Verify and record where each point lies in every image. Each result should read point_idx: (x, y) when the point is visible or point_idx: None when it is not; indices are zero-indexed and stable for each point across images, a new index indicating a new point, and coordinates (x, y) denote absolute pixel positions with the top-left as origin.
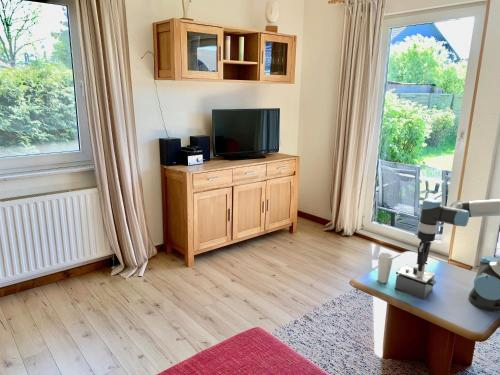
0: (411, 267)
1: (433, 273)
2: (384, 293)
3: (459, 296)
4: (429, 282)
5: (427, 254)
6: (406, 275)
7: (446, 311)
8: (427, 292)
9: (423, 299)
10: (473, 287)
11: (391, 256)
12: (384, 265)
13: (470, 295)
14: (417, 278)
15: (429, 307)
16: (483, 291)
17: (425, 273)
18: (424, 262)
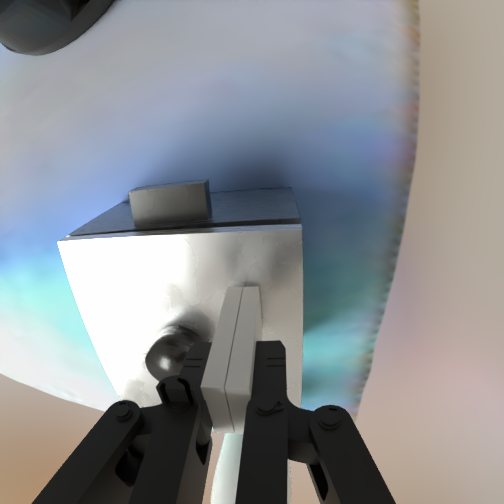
0: (134, 382)
1: (69, 250)
2: (371, 347)
3: (81, 75)
4: (201, 217)
5: (88, 493)
6: (301, 374)
7: (317, 44)
8: (218, 197)
9: (290, 188)
10: (21, 26)
11: (219, 499)
12: (289, 469)
13: (71, 20)
14: (302, 308)
15: (352, 130)
16: None
17: (126, 294)
18: (199, 419)
